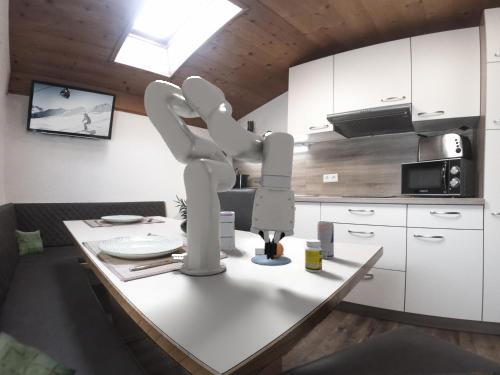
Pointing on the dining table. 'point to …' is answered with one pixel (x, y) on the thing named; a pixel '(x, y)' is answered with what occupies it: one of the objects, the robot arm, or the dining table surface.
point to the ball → (279, 250)
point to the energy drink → (326, 239)
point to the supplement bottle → (313, 256)
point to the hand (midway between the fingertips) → (269, 257)
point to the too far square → (260, 251)
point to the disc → (264, 261)
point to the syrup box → (227, 230)
